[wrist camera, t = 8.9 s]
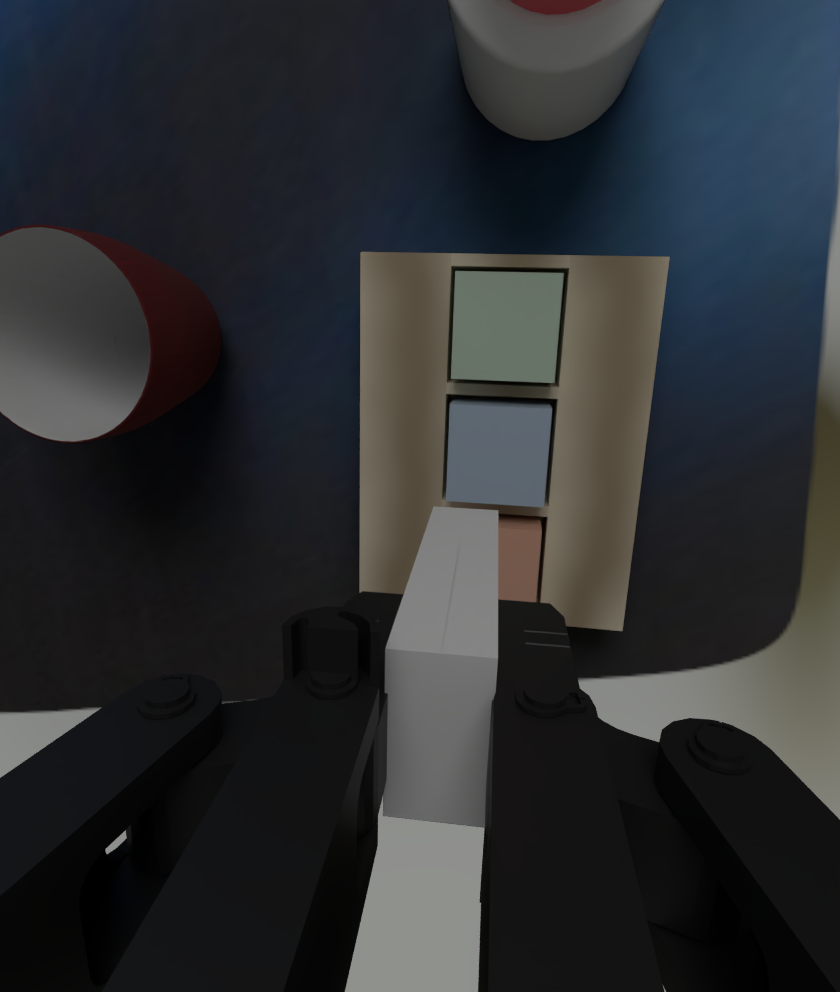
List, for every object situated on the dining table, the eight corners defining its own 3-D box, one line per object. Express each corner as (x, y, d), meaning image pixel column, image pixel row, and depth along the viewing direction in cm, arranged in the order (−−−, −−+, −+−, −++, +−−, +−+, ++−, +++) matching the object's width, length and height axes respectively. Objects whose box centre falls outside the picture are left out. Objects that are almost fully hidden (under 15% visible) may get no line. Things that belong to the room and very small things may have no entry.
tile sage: (456, 373, 30) (450, 378, 27) (460, 276, 29) (455, 271, 26) (550, 377, 30) (554, 383, 27) (558, 277, 28) (563, 273, 26)
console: (373, 581, 35) (359, 607, 32) (376, 259, 31) (360, 251, 28) (611, 601, 34) (622, 631, 31) (652, 264, 29) (669, 256, 26)
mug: (88, 417, 35) (-70, 452, 26) (56, 264, 33) (-128, 241, 24) (267, 406, 34) (170, 439, 24) (246, 245, 32) (130, 212, 22)
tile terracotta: (447, 586, 33) (441, 611, 30) (451, 506, 32) (444, 524, 29) (532, 593, 33) (534, 619, 30) (539, 511, 31) (541, 531, 29)
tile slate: (451, 484, 32) (445, 501, 29) (455, 396, 30) (449, 404, 28) (541, 490, 31) (544, 507, 28) (548, 400, 30) (552, 409, 27)
